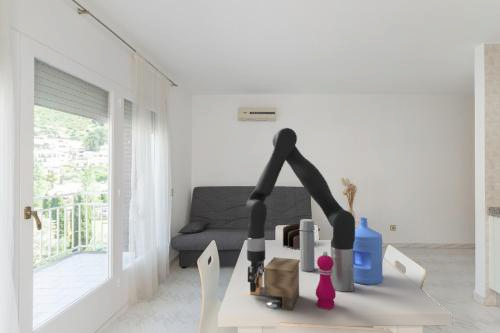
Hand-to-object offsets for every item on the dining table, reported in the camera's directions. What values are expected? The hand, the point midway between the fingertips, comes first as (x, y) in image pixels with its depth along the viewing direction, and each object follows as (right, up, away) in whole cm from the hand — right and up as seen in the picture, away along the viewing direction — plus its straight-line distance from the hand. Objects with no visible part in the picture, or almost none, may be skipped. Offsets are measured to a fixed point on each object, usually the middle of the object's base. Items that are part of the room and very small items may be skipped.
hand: (256, 287), depth 126 cm
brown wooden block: (+10, -2, -8) cm, 13 cm away
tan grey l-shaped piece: (+5, -2, -2) cm, 5 cm away
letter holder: (+30, -4, +79) cm, 84 cm away
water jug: (+50, -2, +15) cm, 52 cm away
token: (+6, -2, -12) cm, 13 cm away
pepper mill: (+25, -2, -12) cm, 28 cm away
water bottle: (+26, -3, +30) cm, 40 cm away
